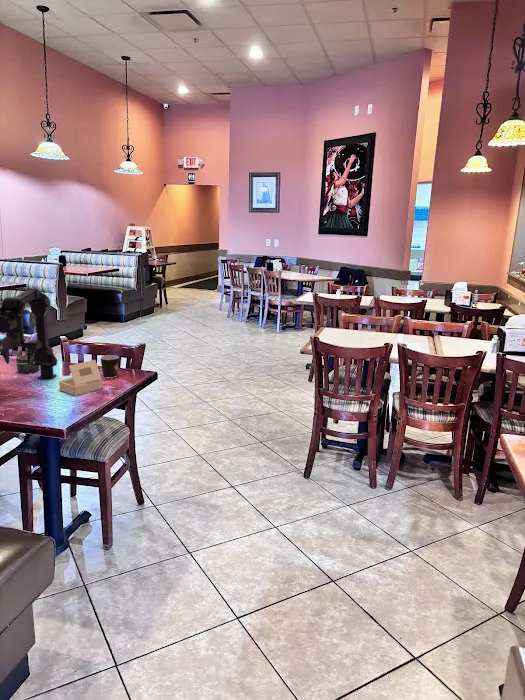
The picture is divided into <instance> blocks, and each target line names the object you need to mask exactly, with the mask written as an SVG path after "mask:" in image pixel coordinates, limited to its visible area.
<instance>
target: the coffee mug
mask: <svg viewBox="0 0 525 700" xmlns="http://www.w3.org/2000/svg"><path fill="white" fill-rule="evenodd" d="M119 360H120V356H118V355H113V354H108V355H107V354H106V355H102V356H100V363H101V370H102V375H103V376H104V377H114V376H116V375H117V376H118V372H119V371H118V369H119ZM104 377H103V378H104Z"/></svg>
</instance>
